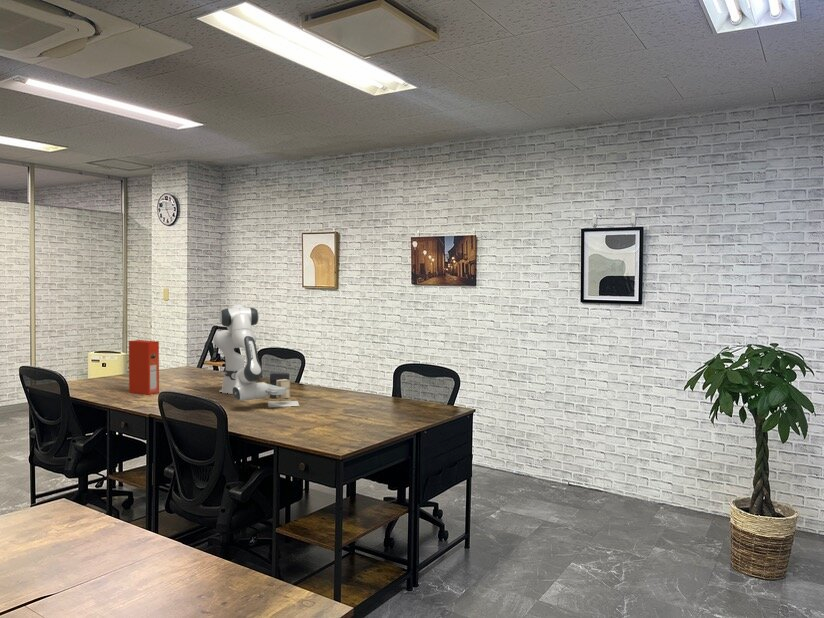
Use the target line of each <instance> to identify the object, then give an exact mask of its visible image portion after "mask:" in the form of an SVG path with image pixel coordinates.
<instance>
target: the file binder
mask: <svg viewBox="0 0 824 618" xmlns="http://www.w3.org/2000/svg"><path fill="white" fill-rule="evenodd" d="M159 349H160V343H159V341H154V340H145V339H144V340H143V339H135V340H134V339H133V340H128V383H129V384H128V391H129V393H130V394H136V393H138V395H143V394H145V395H144V396H152V395H151V394H153V395H157V394H156V393H158V394H160V350H159Z"/></svg>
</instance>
